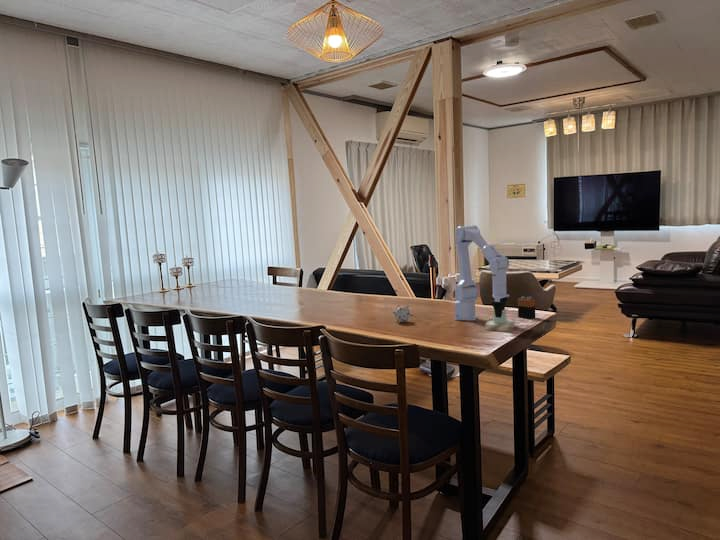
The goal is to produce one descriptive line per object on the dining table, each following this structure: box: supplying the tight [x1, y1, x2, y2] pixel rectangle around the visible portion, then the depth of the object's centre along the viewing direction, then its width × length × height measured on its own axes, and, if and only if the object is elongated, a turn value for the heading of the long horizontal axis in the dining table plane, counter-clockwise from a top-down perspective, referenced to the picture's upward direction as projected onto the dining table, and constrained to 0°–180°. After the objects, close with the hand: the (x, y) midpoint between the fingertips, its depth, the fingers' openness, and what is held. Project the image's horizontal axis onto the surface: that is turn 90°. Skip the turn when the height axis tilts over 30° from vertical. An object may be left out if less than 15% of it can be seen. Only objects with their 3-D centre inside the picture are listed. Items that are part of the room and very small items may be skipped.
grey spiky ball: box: [392, 304, 414, 324], centre depth 238 cm, size 9×8×10 cm
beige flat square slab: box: [484, 318, 516, 332], centre depth 219 cm, size 11×11×3 cm
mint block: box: [493, 309, 507, 324], centre depth 218 cm, size 5×5×5 cm
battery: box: [517, 295, 536, 320], centre depth 236 cm, size 4×7×10 cm, turn 36°
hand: (499, 315), depth 218 cm, fingers open, 7 cm apart
